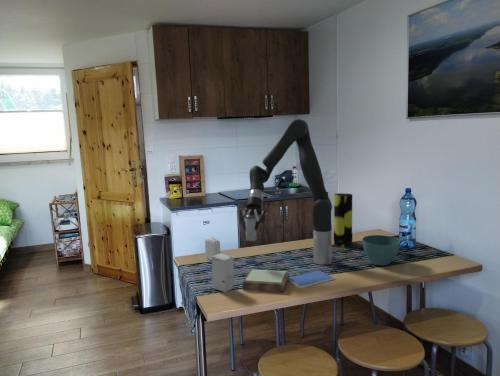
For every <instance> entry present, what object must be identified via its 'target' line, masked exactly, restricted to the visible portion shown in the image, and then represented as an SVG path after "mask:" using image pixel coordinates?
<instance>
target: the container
mask: <svg viewBox="0 0 500 376" xmlns="http://www.w3.org/2000/svg"><path fill="white" fill-rule="evenodd" d="M333 198H334V200H333V203H334V204H333V206H334V207H333V209H334V211H333V214H334V215H333V218H334V219H333V222H334V223H333V245H334V246H336V247H338V248H339V247H340V248H349V247H351V246H352V245H353V194H352V193H347V192H346V193H344V192H342V193H341V192H339V193H334V195H333Z"/></svg>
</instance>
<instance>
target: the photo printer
mask: <svg viewBox="0 0 500 376" xmlns="http://www.w3.org/2000/svg"><path fill="white" fill-rule="evenodd" d="M204 246H205V247H204V248H205V258H206V259H207V260H209V261H211V262H212V256H214V255H217V254H221V241H220V240H219V239H217V238H216V237H214V236H208V237H206V238H205V240H204Z"/></svg>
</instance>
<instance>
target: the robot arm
mask: <svg viewBox="0 0 500 376" xmlns="http://www.w3.org/2000/svg"><path fill="white" fill-rule="evenodd" d="M309 129H310V128H309V125H308V123H307V122H306V120H304V119H301V118H298V119H293V120H292V121H290V123H289V124H288V126H287V128H286V129H285V131H284V133H283V134H282V136H281V137H280V139H279V140H278V141H277V143H276V144H275V145H274V146H273V147H272V149H271V150H270V151H269V152H268V153H267V154H266V156H265V157H264V158H263V159H262V164H263V165H264V167H265V169H264V168H262V167H261V166H259V165H253V166H252V167H251V168H250V169H249V173H248V174H249V176H248V177H249V182H250V183H249V184H250V186H249V187H250V188H249V193H248V197H247V203H246V208H245V210H242V209H240V210H239V219H240V222H241V223H242V229H243V230H244V231H246V226H245V218H246V215H249V214H253V215H255V218H256V225H255V230H256V231H258V230H259V229H260V225H261V224H263V223H264V222H265V220H266V218H267V215H268V213H267V210H262V207H263V201H264V192H265V185H264V184H265V183H267V182H268V181H269V179H270V178H271V177H270V176H271V174H272V173H273V170H274V169H275V167H276V166H277V165H278V164H279V163H280V161H281V160H282V159H283V157H284V156H285V154H286V153H287V152H288V149H289V148H290V147H291V146H292V145H293V144H294V143H296V147H297V148H298V157H299V164H300V165H299V166H300V169H301V172H302V176H303V178H304V180H305V182H306V184H307V186H308V188H309V189H310V192H311V195H312V199H313V206H312V227H313V228H312V229H313V233H312V234H313V236H312V240H313V242H312V243H313V247H312V249H313V250H312V251H313V258H312V260H313V263H314V264H316V265H320V266H321V265H323V266H325V265H332V261H333V260H332V259H333V257H332V256H333V252H332V251H333V247H332V245H333V243H332V240H333V239H332V237H333V236H332V231H333V230H332V229H333V227H332V226H333V225H332V210H333V204H332V201H331V199H330V197H329V194H328V192H327V190H326V186H325V182H324V178H323V173H322V170H321V166H320V163H319V160H318V157H317V155H316V152H315V148H314V146H313V144H312V143H313V142H312V140H311V134H310V130H309ZM245 214H246V215H245ZM244 215H245V217H244ZM260 215H261V217H260ZM259 217H260V218H259Z"/></svg>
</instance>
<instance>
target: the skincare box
mask: <svg viewBox="0 0 500 376" xmlns="http://www.w3.org/2000/svg"><path fill="white" fill-rule="evenodd" d="M211 288H212V289H214V290H217V291H220V292H223V293H226V292H229V291H231V290H233V289H234V257H233V256H230V255H228V254H223V253H220V254H217V255H214V256H212V261H211Z"/></svg>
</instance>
